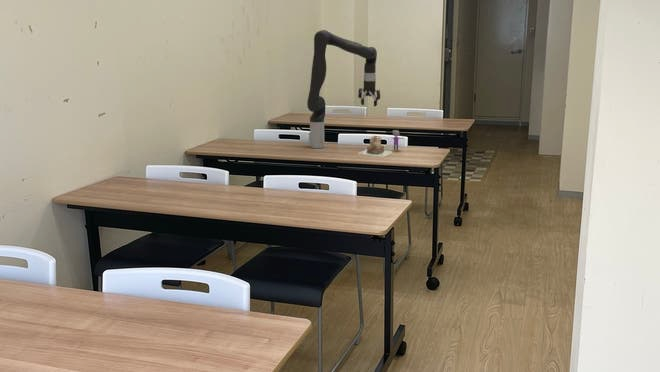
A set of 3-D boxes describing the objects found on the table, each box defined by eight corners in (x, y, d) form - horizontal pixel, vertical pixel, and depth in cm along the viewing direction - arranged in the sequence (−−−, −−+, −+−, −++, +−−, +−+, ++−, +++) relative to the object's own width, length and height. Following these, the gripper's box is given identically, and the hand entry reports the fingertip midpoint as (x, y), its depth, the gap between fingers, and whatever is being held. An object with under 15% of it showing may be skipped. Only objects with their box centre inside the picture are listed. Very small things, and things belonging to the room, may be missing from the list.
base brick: (366, 153, 386) (366, 147, 385) (372, 150, 393) (372, 144, 392) (378, 154, 382) (378, 148, 381) (383, 151, 389) (384, 145, 388)
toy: (404, 152, 393) (404, 128, 388) (404, 154, 388) (404, 130, 383) (387, 151, 394) (387, 128, 390) (387, 154, 389) (387, 130, 384)
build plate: (357, 155, 386) (357, 152, 386) (367, 150, 398) (367, 147, 397) (384, 158, 378) (384, 155, 377) (393, 153, 390) (393, 150, 389)
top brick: (370, 146, 385) (370, 136, 384) (373, 145, 390) (373, 134, 388) (377, 147, 383) (377, 137, 381) (380, 145, 387) (380, 135, 385)
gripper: (356, 79, 387) (356, 105, 392) (377, 81, 380) (376, 107, 385) (362, 78, 393) (361, 103, 398) (382, 80, 386) (381, 105, 391)
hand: (369, 105), depth 391 cm, fingers open, 8 cm apart
